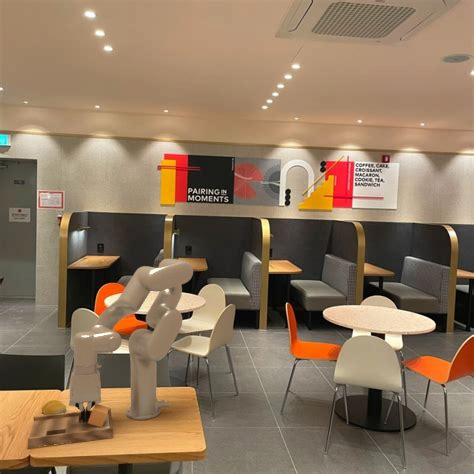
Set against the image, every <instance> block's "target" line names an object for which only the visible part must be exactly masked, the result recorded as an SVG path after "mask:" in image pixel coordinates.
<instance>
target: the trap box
mask: <svg viewBox="0 0 474 474" xmlns="http://www.w3.org/2000/svg"><path fill="white" fill-rule="evenodd" d="M92 410H93V409H92ZM92 410H90V416H91V413H92ZM88 421H89V419H88ZM113 429H114V427H113V420H112V409H111V407H109V410H108V413H107V416H106V418H105V421H104V424H103V426H102V427H99V426H95V425H92V424H89V423H88V422H86V410H85V422H84V423H83V419H82V420H81V411H74V412H64V413H63V414H54V415H45V414H44V415H38V416H37V415H35V416H33V422H32V426H31V430H30V433H29V437H28V438H27V449H28V450H29V449H36V448H35V447H38V448H40V447H39V446H44V445H54V444H62V443H70V442H77V443H84V442H83V441H85V442H91V440H93V441H99V440H100V441H101V440H107V439H113V438H114V436H113V435H114V433H113V432H114V431H113ZM70 444H71V443H70ZM62 445H63V444H62ZM54 446H55V445H54Z"/></svg>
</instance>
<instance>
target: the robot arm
mask: <svg viewBox="0 0 474 474" xmlns="http://www.w3.org/2000/svg"><path fill="white" fill-rule="evenodd" d="M193 274H194V269H193V266H192V265H191V263H190V262H188V261H185V260H181V259H176V258H164V259H162V260H161V261H160V262H159V264H158V267H155V266H154V267H152V266H147V265H146V266H145V265H144V266H140V267H138V268H137V269H136V270H135V271H134V273H133V275H132V276H131V278H130V280H129V281H128V283H127V285H126V286H125V288H124V289H123V291H122V292H121V294H120V295H119V296H118V298H117V299H116V300H115V301H113V303H112V304H111V305H109V306H108V307H107V308H106V309H105V310H104V311H102V312H101V314H100V315H99V316H98V318H97V319H96V321H95V322H94V324H93V325H92V327H91V329H90V331H87V330H85V331H79V332H78V333H75V334H74V337H73V371H72V372H71V375H70V381H69V402H68V406H69V407H75V408H77V409H78V410H79V412H81V420H82V419H83V423H84V422H85V411H86V422H88V419H89V418H90V411H91V409H93V408H94V406H95V404H99V405H100V404H101V403H102V397H101V396H102V395H101V394H102V392H101V391H102V387H101V385H102V384H101V383H102V382H101V375H100V370H99V369H102V364H101V363H98V354H99V353H100V354H103V353H106V354H107V353H113V352H116V351H117V350H118V349H119V348H120V347H121V345H122V342H123V341H122V337H121V335H120V333H118V332H117V331H115V330H114V328H115V327H116V325H117V324H118V323H119V322H120V321H121V320H123V319H124V318H126V317H128V316H131V315H133V314H136V313H137V312H138V311H140V309H141V308H142V306H143V304H144V302H145V300H146V299H147V297H148V296H149V294H150V293H151V292H157V293H158V294H157V296H156V298H155V299H154V301H153V303H152V304H151V306H150V308H149V309H148V311H147V314H146V315H145V322H146V324H147V325H148V326H149V327H150V328H152V329H153V330H149V329H147V328H139V329H136V330H134V331H133V332H132V333H131V334H130V336H129V339H128V343H127V345H128V352H129V359H130V406H129V407H128V408H127V409H126V412H125V413H126V416H127V417H128V418H130V419H132V420H136V421H137V420H138V421H139V420H140V421H143V420H144V421H145V420H149V419H150V420H151V419H153V418H156V417H157V416H159V415H160V413H161V408H169V407H170V402H169V401H165V399H161V400H158V399H157V367H158V366H157V362H158V361H161V360H162V359H163V358H164V357H165V356H166V355H167V354H168V352H169V350H170V349H171V347H172V345H173V344H174V342H175V341H176V338H177V336H178V334H179V332H180V330H181V329H182V326H183V316H182V313H181V312H180V310H178V309H177V307H178V305H179V302H180V300H181V298H182V293H183V287H182V285H184V284H186V283H188V282H189V281H190V280H191V279H192V277H193ZM84 403H86V406H85V405H84ZM85 407H86V408H85Z"/></svg>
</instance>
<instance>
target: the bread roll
mask: <svg viewBox="0 0 474 474" xmlns="http://www.w3.org/2000/svg"><path fill="white" fill-rule="evenodd" d="M66 411H67V405H66V404H65V403H63V402H62V401H60V400H58V399H53V400H49V401H46V403H45V404H43V406H42V407H41V412H42V414H43V415H44V416H45V415H54V414H62V413H66Z"/></svg>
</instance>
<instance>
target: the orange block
mask: <svg viewBox="0 0 474 474" xmlns="http://www.w3.org/2000/svg"><path fill="white" fill-rule="evenodd" d="M109 408H110V407H109V406H106V405H101V404H100V403H99V404H95V405H94V406H93V407H92V413H91V416H90V418H89V421H88V423H89V424H92V425H95V426H99V427H102V426H103V424H104V421H105V418H106V416H107V413H108V410H109Z"/></svg>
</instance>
